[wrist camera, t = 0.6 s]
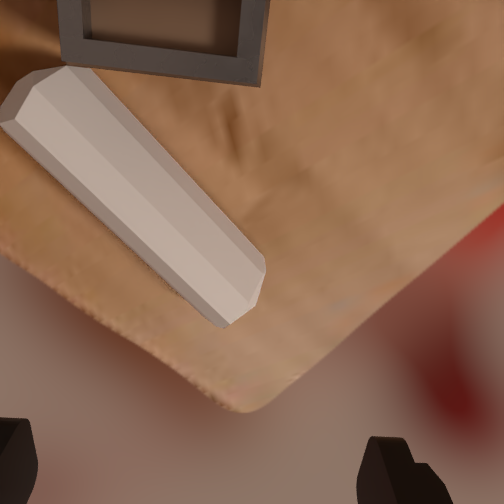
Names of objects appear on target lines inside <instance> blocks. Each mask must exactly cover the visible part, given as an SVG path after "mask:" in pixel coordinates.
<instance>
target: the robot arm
mask: <svg viewBox="0 0 504 504" xmlns="http://www.w3.org/2000/svg"><path fill="white" fill-rule="evenodd" d="M37 471H38V460H37V455H36V450H35V445H34V440H33V435H32V430H31V425H30V422H29V420H28V419H24V418H2V417H0V504H27V501H28V499H29V497H30V495H31V493H32V490H33V488H34V485H35V481H36V477H37ZM356 488H357V500H358V504H453V502H452V500H451V497H450V495H449V493H448V491H447V489H446V486H445V484H444V483H443V482H442V481H441V479H440V478H439V477H438V476H437V475H436V474H435V472H434V471H433V470H432V469H431V467H430V466H429V465H428V464H427V463H415V462H414V459H413V457H412V455H411V452H410V449H409V447H408V445H407V443H406V441H405V440H404V439H403V438H398V437H378V436H377V437H376V436H372V437H370V439H369V440H368V443H367V446H366V450H365V453H364V456H363V460H362V463H361V466H360V469H359V473H358V476H357V486H356Z"/></svg>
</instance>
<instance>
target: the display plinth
mask: <svg viewBox="0 0 504 504" xmlns="http://www.w3.org/2000/svg"><path fill="white" fill-rule="evenodd" d="M269 7H270V0H57V8H58V21H59V34H60V47H61V61H65V62H66V65H73V66H81V67H89V68H98V69H106V70H115V71H123V72H132V73H140V74H149V75H157V76H166V77H174V78H183V79H191V80H200V81H208V82H217V83H225V84H234V85H242V86H251V87H259V88H260V86H261V77H262V68H263V59H264V51H265V42H266V33H267V24H268V16H269Z"/></svg>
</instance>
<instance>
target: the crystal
mask: <svg viewBox="0 0 504 504" xmlns="http://www.w3.org/2000/svg"><path fill="white" fill-rule="evenodd" d="M0 126H1V127H2V129H3V130H4V131H5V132H6V133H7V134H8V135H9V136H10V137H11V138H12V139H13V140H14V141H15V142H17V143H18V144H19V145H20V146H21V147H22V148H23V149H24V150H25V151H26V152H27V153H28V154H29V155H30V156H32V157H33V158H34V159H35V160H36V161H37V162H38V163H39V164H40V165H41V166H42V167H43V168H44V169H46V170H47V171H48V172H49V173H50V174H51V175H52V176H53V177H54V178H55V179H56V180H57V181H58V182H59V183H61V184H62V185H63V186H64V187H65V188H66V189H67V190H68V191H69V192H70V193H71V194H72V195H73V196H75V197H76V198H77V199H78V200H79V201H80V202H81V203H82V204H83V205H84V206H85V207H86V208H87V209H88V210H90V211H91V212H92V213H93V214H94V215H95V216H96V217H97V218H98V219H99V220H100V221H101V222H102V223H104V224H105V225H106V226H107V227H108V228H109V229H110V230H111V231H112V232H113V233H114V234H115V235H116V236H117V237H119V238H120V239H121V240H122V241H123V242H124V243H125V244H126V245H127V246H128V247H129V248H130V249H131V250H133V251H134V252H135V253H136V254H137V255H138V256H139V257H140V258H141V259H142V260H143V261H144V262H145V263H146V264H148V265H149V266H150V267H151V268H152V269H153V270H154V271H155V272H156V273H157V274H158V275H159V276H160V277H161V278H163V279H164V280H165V281H166V282H167V283H168V284H169V285H170V286H171V287H172V288H173V289H174V290H175V291H177V292H178V293H179V294H180V295H181V296H182V297H183V298H184V299H185V300H186V301H187V302H188V303H189V304H190V305H192V306H193V307H194V308H195V309H196V310H197V311H198V312H199V313H200V314H201V315H202V316H203V317H205V318H206V319H207V320H208V321H210V322H211V323H212V324H214V325H215V326H217V327H221V328H225V327H227V326H228V325H230V324H231V323H233V322H234V321H235V320H237V319H238V318H240V317H241V316H242V315H244V314H245V313H246V312H248V311H249V310H250V309H252V308H253V307H254V306H256V303H257V299H258V296H259V293H260V289H261V286H262V283H263V279H264V276H265V273H266V266H265V259H264V256H263V255H262V254H261V253H260V252H259V251H258V250H257V249H256V248H255V247H254V245H253V244H252V243H251V242H250V241H249V240H248V239H247V238H246V237H245V236H244V235H243V234H242V232H241V231H240V230H239V229H238V228H237V227H236V226H235V225H234V224H233V223H232V222H231V221H230V219H229V218H228V217H227V216H226V215H225V214H224V213H223V212H222V211H221V210H220V209H219V208H218V206H217V205H216V204H215V203H214V202H213V201H212V200H211V199H210V198H209V197H208V196H207V195H206V193H205V192H204V191H203V190H202V189H201V188H200V187H199V186H198V185H197V184H196V183H195V182H194V180H193V179H192V178H191V177H190V176H189V175H188V174H187V173H186V172H185V171H184V170H183V168H182V167H181V166H180V165H179V164H178V163H177V162H176V161H175V160H174V159H173V158H172V157H171V155H170V154H169V153H168V152H167V151H166V150H165V149H164V148H163V147H162V146H161V145H160V144H159V142H158V141H157V140H156V139H155V138H154V137H153V136H152V135H151V134H150V133H149V132H148V131H147V129H146V128H145V127H144V126H143V125H142V124H141V123H140V122H139V121H138V120H137V119H136V118H135V116H134V115H133V114H132V113H131V112H130V111H129V110H128V109H127V108H126V107H125V106H124V105H123V103H122V102H121V101H120V100H119V99H118V98H117V97H116V96H115V95H114V94H113V93H112V92H111V90H110V89H109V88H108V87H107V86H106V85H105V84H104V83H103V82H102V81H101V80H100V79H99V77H98V76H97V75H96V74H95V73H94V72H93V71H92V70H91V69H90V68H83V67H75V66H67V65H66V66H61V67H55V68H49V69H43V70H37V71H32V72H31V73H29V74H28V75H26V76H25V77H23V78H21V79H20V80H18V81H17V82H16V83H15V85H14V87H13V88H12V90H11V91H10V93H9V94H8V96H7V97H6V99H5V100H4V102H3V103H2V105H1V106H0Z"/></svg>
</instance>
